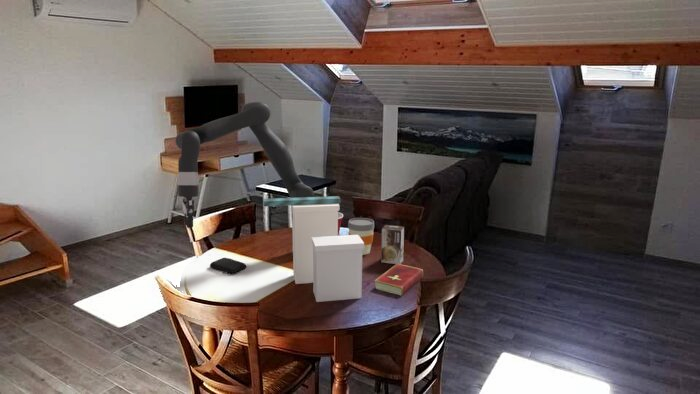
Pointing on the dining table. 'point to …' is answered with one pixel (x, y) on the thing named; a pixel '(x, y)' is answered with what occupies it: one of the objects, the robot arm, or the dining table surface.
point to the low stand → (337, 267)
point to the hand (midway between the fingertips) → (188, 226)
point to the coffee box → (392, 244)
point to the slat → (302, 201)
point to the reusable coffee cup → (362, 231)
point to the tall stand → (310, 235)
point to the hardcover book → (399, 279)
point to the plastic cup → (339, 221)
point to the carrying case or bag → (228, 266)
